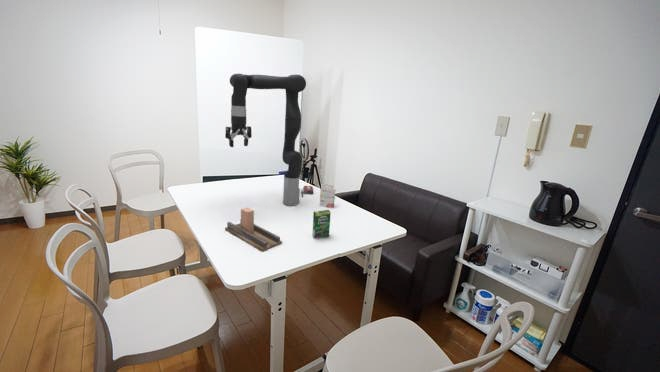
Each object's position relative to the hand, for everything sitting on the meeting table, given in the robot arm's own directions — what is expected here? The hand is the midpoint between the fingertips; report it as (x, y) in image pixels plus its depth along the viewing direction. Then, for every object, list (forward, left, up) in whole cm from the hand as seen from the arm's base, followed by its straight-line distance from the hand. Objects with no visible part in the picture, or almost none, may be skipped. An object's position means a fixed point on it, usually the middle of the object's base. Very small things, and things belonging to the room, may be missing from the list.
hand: (238, 146), depth 153 cm
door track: (+14, +31, -36) cm, 50 cm away
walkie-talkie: (-54, +2, -37) cm, 65 cm away
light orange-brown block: (+14, +27, -35) cm, 46 cm away
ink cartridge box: (-45, +27, -36) cm, 64 cm away
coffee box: (-10, +52, -36) cm, 64 cm away
